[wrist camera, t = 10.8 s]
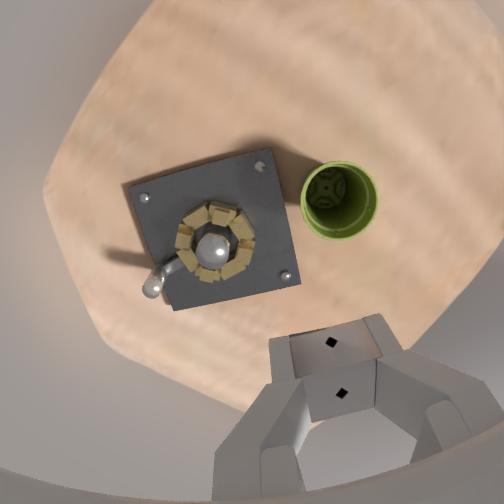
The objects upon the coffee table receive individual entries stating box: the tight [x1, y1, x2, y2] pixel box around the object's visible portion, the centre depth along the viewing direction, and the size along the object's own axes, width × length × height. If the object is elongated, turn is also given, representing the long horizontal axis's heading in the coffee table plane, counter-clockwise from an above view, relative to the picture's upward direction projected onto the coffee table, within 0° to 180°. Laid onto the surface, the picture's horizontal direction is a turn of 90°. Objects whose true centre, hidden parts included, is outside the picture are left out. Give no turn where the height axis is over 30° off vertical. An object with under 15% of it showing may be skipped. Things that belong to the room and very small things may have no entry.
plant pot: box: [300, 161, 379, 241], centre depth 39 cm, size 9×9×9 cm
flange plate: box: [128, 147, 301, 311], centre depth 42 cm, size 20×20×8 cm
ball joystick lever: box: [142, 201, 255, 298], centre depth 42 cm, size 16×10×6 cm, turn 120°
